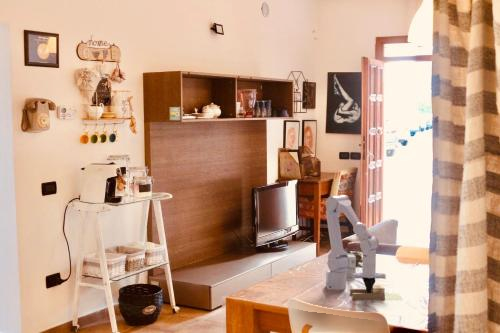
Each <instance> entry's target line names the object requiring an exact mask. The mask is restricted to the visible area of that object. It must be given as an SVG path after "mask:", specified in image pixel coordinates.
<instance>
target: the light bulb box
mask: <svg viewBox="0 0 500 333" xmlns="http://www.w3.org/2000/svg"><path fill="white" fill-rule="evenodd" d="M337 257H338V256H337ZM348 257H349V259H350V266H349V267H348V270H347V272H346V278H352V273H356V272H357V271H356V270H357V267H356V266H357V263H356V256H355V255H354V254H348Z"/></svg>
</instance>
